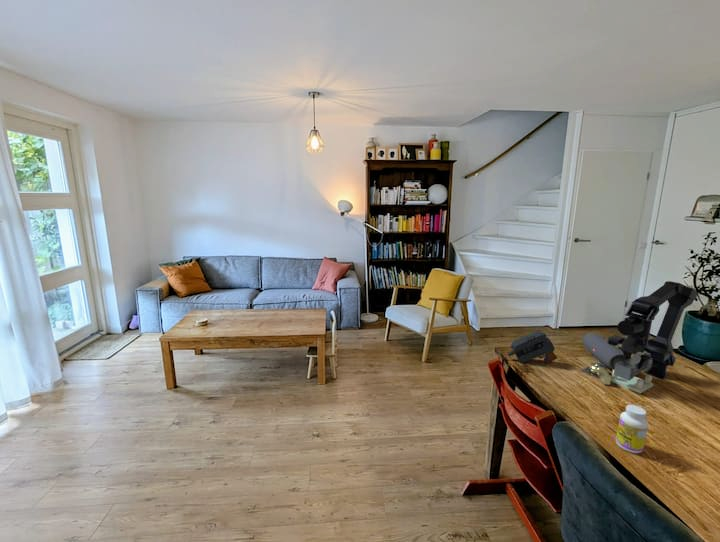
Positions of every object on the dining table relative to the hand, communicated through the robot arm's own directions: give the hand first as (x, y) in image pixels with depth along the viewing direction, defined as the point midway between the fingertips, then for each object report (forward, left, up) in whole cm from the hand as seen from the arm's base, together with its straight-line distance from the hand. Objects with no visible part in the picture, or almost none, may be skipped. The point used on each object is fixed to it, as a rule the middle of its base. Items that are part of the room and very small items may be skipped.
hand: (633, 366), depth 135 cm
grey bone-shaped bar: (0, 0, -2) cm, 2 cm away
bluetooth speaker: (-10, -15, -8) cm, 19 cm away
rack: (0, 0, -7) cm, 7 cm away
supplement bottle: (+42, +17, -7) cm, 46 cm away
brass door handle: (+6, -8, -7) cm, 12 cm away
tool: (+18, -32, -7) cm, 38 cm away
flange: (+3, -11, -7) cm, 14 cm away
